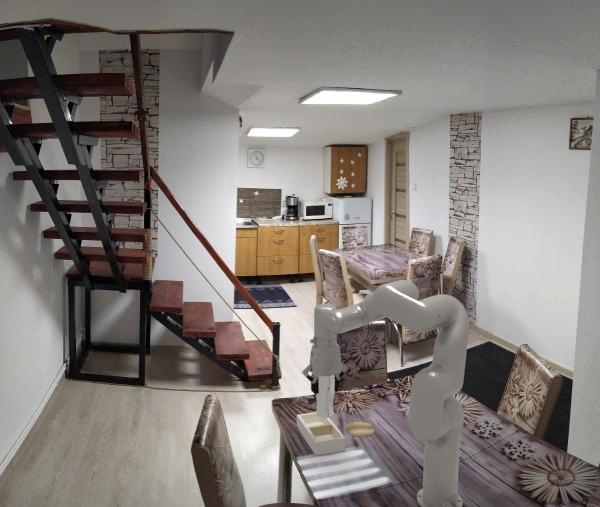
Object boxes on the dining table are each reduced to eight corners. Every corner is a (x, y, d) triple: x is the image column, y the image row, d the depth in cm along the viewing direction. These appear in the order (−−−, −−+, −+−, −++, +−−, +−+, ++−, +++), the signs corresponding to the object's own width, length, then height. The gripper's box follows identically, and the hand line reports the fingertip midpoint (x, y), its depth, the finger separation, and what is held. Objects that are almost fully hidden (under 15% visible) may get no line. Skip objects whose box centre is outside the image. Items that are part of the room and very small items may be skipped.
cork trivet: (379, 434, 193) (379, 432, 193) (353, 438, 190) (353, 436, 190) (367, 421, 202) (367, 419, 202) (342, 425, 199) (342, 423, 199)
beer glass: (333, 419, 180) (333, 377, 177) (312, 417, 181) (313, 375, 179) (336, 410, 187) (336, 369, 184) (316, 408, 188) (316, 367, 186)
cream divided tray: (345, 450, 182) (345, 437, 181) (315, 455, 179) (315, 442, 178) (323, 422, 202) (323, 410, 201) (296, 426, 199) (296, 414, 198)
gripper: (304, 347, 174) (304, 399, 176) (353, 342, 179) (353, 392, 182) (297, 340, 181) (297, 390, 184) (345, 335, 186) (344, 384, 189)
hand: (325, 391), depth 183 cm, fingers closed on beer glass, 6 cm apart
